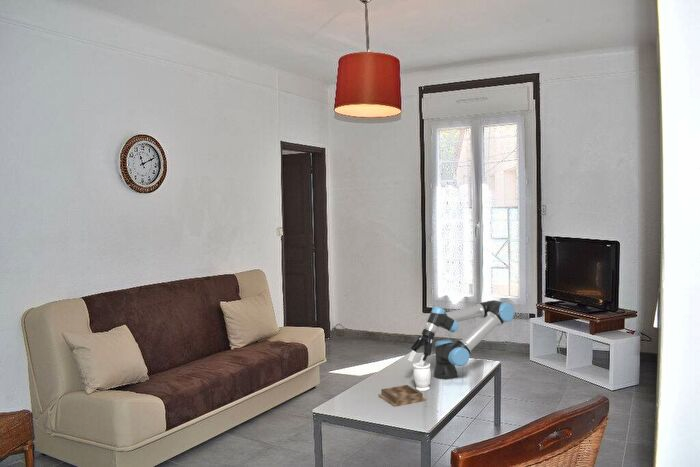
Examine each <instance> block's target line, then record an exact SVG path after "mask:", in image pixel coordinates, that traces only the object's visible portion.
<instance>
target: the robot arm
mask: <svg viewBox="0 0 700 467" xmlns="http://www.w3.org/2000/svg"><path fill="white" fill-rule="evenodd" d="M514 315H515V310H514V307H513V306H512V304H510V303H507V302H505V301H504V302H503V301H499V300H487V301H484V302H479V303H477V304H476V305H474V306H473V305H472V306H468V307H464V308H460V309H456V310H451V311H446V310H445V309H444V308H441V307H440V306H437V305H436V306H433V308H432V309H431V311H430V315H429V316H428V319H427V321H426V323H425V325H424V328H423V330H422V331H421V335H422V336H421V335H419V336H418V337H417V339H416V341H415V342H414V343H413V345H412V346H410V349H411V352H410V354H409V356H408V359H407V360H408V361H409V362H413V360H414V358H415V357H416V356H415V355H416V354H417V351H418V350H419V349H420V348H421V347H423V352H422V353H423V354H422V355H421V358H420V360H419V361H418V362H419V365H421V366H423V365H424V362H426V361H427V358H428V357H429V356H431V354H432V348H433V343H434V337H435V336H436V335H435V334H436V333H437V331H438V329H439V328H441V329H444V330H447V331H448V332H451V333H455V332H457V330H458V329H459V326H460V325H459V322H463V321H468V320H471V319H475V318H480V319H482V320H481V321H480V322H479V323H478V324H477V325H476V326H474V327H473V328H472V329H471V330H470V331H469V333H468V332H467V334H466V335H465V336H464V337H462V339H457V340H456V341H455V342H454V340H453V339H441V340H437V341H435V344H434V351H435V366H434V369H433V377H434V378H436V379H440V380H451V379H455V378H457V377H458V371H457V368H456V367H463V366H465V365H467V363H468V362H469V360H470V356H471V355H472V351H473V349H475V347H476V346H477V345H479V344H480V342H482V341H483V339H485V338H486V337H487V336H488V335H489V334H490V333H491V332H492V331H493V330H494V329H495V328H496V327H501V326H502V325H503V324H504V323H508V322H511V321H512V320H513V318H514V317H515V316H514Z"/></svg>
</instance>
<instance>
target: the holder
mask: <svg viewBox="0 0 700 467" xmlns="http://www.w3.org/2000/svg"><path fill="white" fill-rule="evenodd" d="M380 392H381V393H379V394H378V395H377V396H378V398H380V399H382V400H384V401H385V402H386V403H388V404H390V405H391V406H392V407H394V408H395V407H400V406H406V405H412V404H417V403H420V402H421V403H422V402H426V401H427V399H426V397H425V396H423V395H424V394H423V392H422V391H419V390H417V389H416V388H413V386H410V385H408V384H404V385H399V386H392V387H387V388H381V391H380Z"/></svg>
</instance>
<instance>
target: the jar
mask: <svg viewBox="0 0 700 467" xmlns="http://www.w3.org/2000/svg"><path fill="white" fill-rule="evenodd" d="M419 362H420V361H417V362H414V363H412V366H413V372H412V373H413V380H414V384H415V389H416V390H418V391H419V392H426V391H428V390H430V389H431V387H430V383H431V379H432V377H431V376H432V373H431V363H430V362H429V361H428V362H427V361H425V362H424V365H423V366H421V365H419Z"/></svg>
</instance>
